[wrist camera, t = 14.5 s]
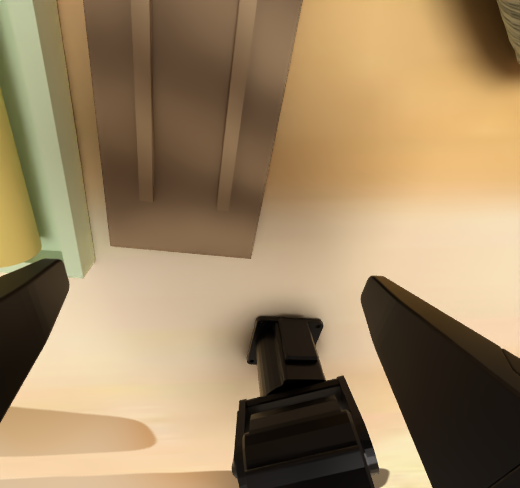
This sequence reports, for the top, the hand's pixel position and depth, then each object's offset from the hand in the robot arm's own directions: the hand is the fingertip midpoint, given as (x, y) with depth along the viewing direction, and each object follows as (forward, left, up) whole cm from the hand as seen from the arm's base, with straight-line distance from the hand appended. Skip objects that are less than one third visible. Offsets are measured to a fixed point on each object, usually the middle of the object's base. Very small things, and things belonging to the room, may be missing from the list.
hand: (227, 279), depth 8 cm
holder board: (+4, +2, -12) cm, 13 cm away
